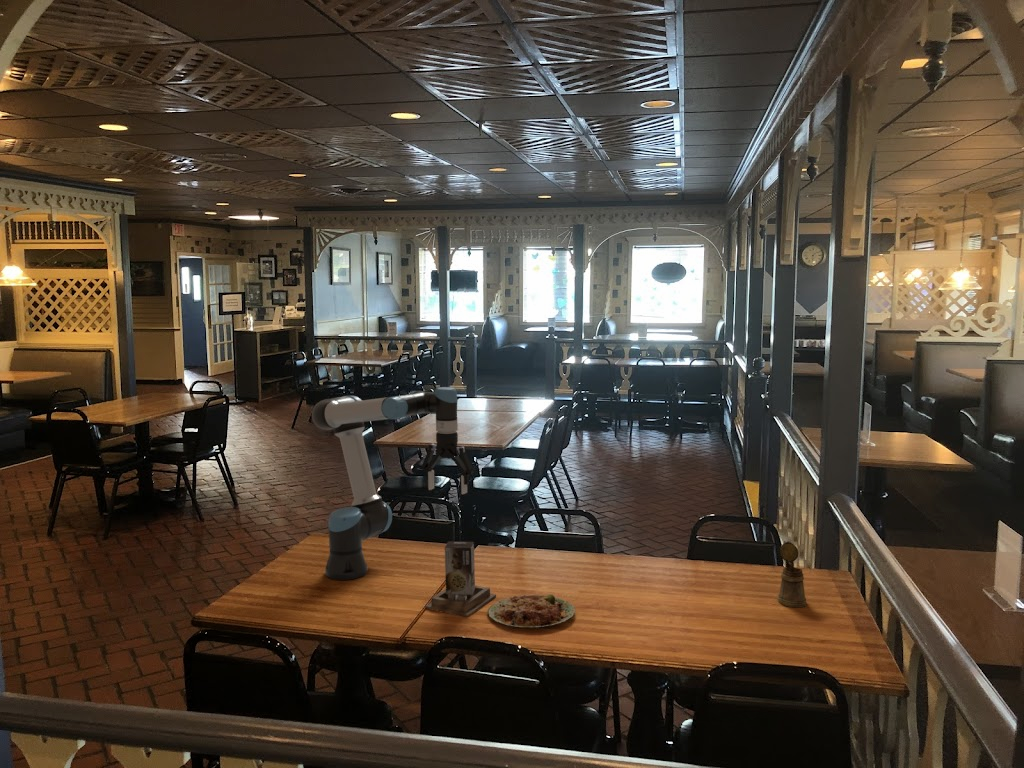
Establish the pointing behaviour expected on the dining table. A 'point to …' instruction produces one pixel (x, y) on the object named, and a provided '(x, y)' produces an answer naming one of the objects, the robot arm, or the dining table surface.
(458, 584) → the coffee box
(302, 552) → the dining table surface
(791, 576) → the disc topped pedestal
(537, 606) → the rice dish
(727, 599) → the dining table surface
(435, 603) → the peg stand
